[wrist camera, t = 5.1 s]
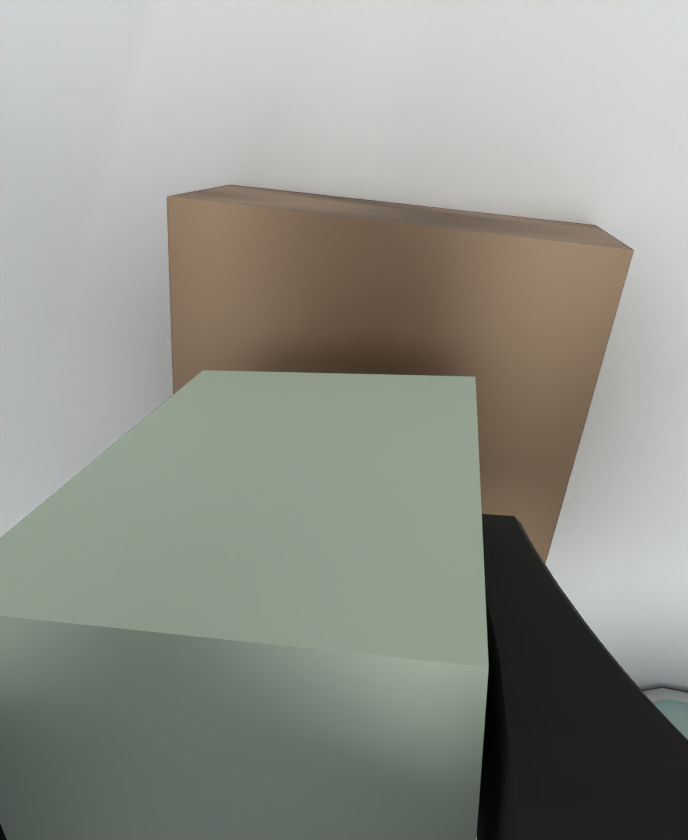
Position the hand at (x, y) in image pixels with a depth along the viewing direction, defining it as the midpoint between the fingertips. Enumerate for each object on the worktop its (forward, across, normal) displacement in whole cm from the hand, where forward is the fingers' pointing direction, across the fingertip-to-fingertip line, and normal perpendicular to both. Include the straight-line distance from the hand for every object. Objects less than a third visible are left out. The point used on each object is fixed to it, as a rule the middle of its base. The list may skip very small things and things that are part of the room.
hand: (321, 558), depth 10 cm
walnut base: (+9, 0, 0) cm, 9 cm away
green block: (+2, 0, 0) cm, 2 cm away
